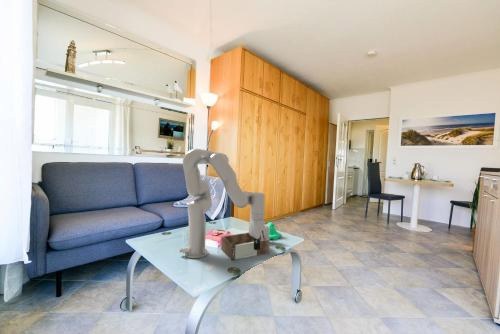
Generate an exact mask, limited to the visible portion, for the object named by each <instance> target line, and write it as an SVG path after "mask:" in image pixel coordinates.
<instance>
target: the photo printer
mask: <svg viewBox="0 0 500 334" xmlns="http://www.w3.org/2000/svg"><path fill="white" fill-rule="evenodd" d="M269 233H270V227H269V225H267V224H265V238H267V239H269ZM269 240H270V239H269Z"/></svg>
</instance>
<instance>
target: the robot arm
mask: <svg viewBox="0 0 500 334" xmlns="http://www.w3.org/2000/svg"><path fill="white" fill-rule="evenodd" d="M229 162H230V161H229V157H228V156H227V154H225V153H222V152H217V151H213V150H207V149H202V148H193V149H190V150H189V151H187V152H186V153H185V154H184V156H183V159H182V168H183V173H184V178H185V184H186V185H185V186H186V191H187V194H188V195H189V196H190V197H192V198H195V199H193V200H192V201H190V202H189V204H188V206H187V214H188V215H187V216H188V217H187V218H188V238H187V239H188V242H187V244H188V245H186V246H185V248H179V251H178V252H179V253H182V254H184V255H185V257H186V258H189V259H193V260H194V259H195V260H196V259H201V258H204V257H206V256H207V255H208V254H209V252H208V249H207V248H206V236H207V235H206V234H207V233H206V230H207V229H206V228H207V222H206V221H207V220H206V215H205V214H206V213H207V212H209V211H210V210H211V208H212V204H213V201H212V195H211V189H210V185H209V183H208V182H207V180H205V179H204V178H203V179H202V178H201V177H202V176H201V171H200V168H199V166H198V165H208V166H211V167H212V169H213V170H214V171H215V173H216V175H217V176H218V177H219V179H220V180H221V182H222V184H223V186H224V190H225V191H226V193H227V197H229V198H230V201H231V202H232V203H233V205H235V206H236V207H237V208H240V209H244V208H246V207H247V206H250V217H249V226H248V233H249V234H250V235H251V236H252V237H253V241H254V250H259V249H260V242H261V241H263V238H264V237H265V208H266V207H265V205H266V204H265V201H266V198H265V194H264V193H263V192H250V191H247V190H245V191H243V190H242V188H241V187H240V186H239V183H238V180H237V174H236V172H235V170H234V169H233V168H232V166H231V165H230V163H229Z"/></svg>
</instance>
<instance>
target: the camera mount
mask: <svg viewBox="0 0 500 334" xmlns="http://www.w3.org/2000/svg"><path fill="white" fill-rule="evenodd" d="M266 225H269V227H270V233H269V240H273V241H274V240H278V239H279V238H282V233H280V232H278V231H277V230H276V226H275V223H273V222H271V221H269V222H268V223H267V224H266Z"/></svg>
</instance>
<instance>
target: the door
mask: <svg viewBox="0 0 500 334" xmlns="http://www.w3.org/2000/svg"><path fill="white" fill-rule="evenodd" d="M252 256H258V255H257V250H254V242H250V243H244V244H238V245H234V248H233V260H238V259H242V258H247V257H252Z"/></svg>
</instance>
